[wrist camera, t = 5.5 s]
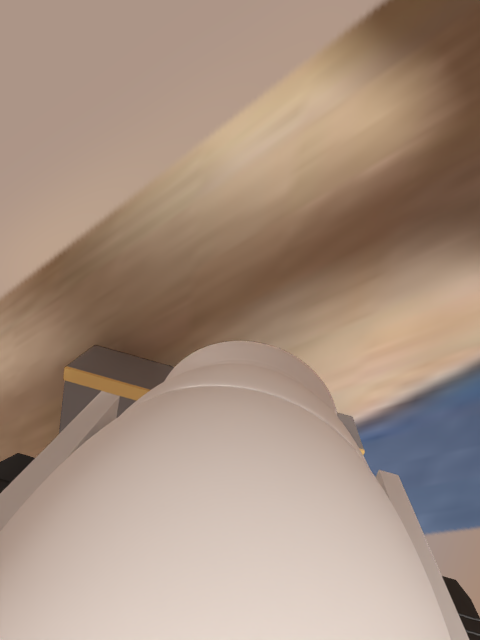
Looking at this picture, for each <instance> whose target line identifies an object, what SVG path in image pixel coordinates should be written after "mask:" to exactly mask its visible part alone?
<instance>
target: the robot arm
mask: <svg viewBox="0 0 480 640" xmlns="http://www.w3.org/2000/svg"><path fill="white" fill-rule="evenodd" d="M119 398H120V396H118V395H114V394H111V393H107V392H104V391H101V392H100V393H99V394H98V395H97V396H96V397H95V398H94V399H93V400H92V401H91V402H90V403H89V404H88V405H87V406H86V407H85V408H84V409H83V410H82V411H81V412H80V413H79V414H78V415H77V416H76V417H75V418H74V419H73V420H72V421H71V422H70V423H69V424H68V425H67V426H66V427H65V428H64V429H63V431H62V432H61V433H60V434H59V435H58V436H57V437H56V438H55V439H54V440H53V441H52V442H51V443H50V444H49V445H48V446H47V447H46V448H45V449H44V450H43V451H42V452H41V453H40V454H39V455H38V456H37V457H36V458H33V457H30V456H26V455H23V454H20V453H17V454H15V455H13V456H11V457H9V458H7V459H5V460H3V461H1V462H0V531H1V530H2V529H3V528H4V526H5V525H6V524H7V523H8V521H9V520H10V519H11V518H12V517H13V515H14V514H15V513H16V512H17V511H18V509H19V508H20V507H21V506H22V505H23V504H24V503H25V501H26V500H27V499H28V498H29V497H30V496H31V495H32V494H33V492H34V491H35V490H36V489H37V488H38V487H39V486H40V485H41V484H42V483H43V482H44V481H45V480H46V479H47V478H48V477H49V475H50V474H51V473H52V472H53V471H54V470H55V469H56V468H57V467H58V466H60V465H61V464H62V463H63V462H64V461H65V460H66V459H67V458H68V457H69V456H70V455H71V454H72V453H73V452H74V451H76V450H77V449H78V448H79V447H80V446H81V445H82V444H84V443H85V442H86V441H87V440H88V439H90V438H91V437H92V436H93V435H94V434H96V433H97V432H98V431H100V430H101V429H102V428H103V427H105V426H106V425H108V424H109V423H110V422H112V421H113V420H115V419H116V417H117V410H118V404H119ZM376 479H377V481H378V482H379V484H380V485H381V487H382V488H383V490H384V491H385V493H386V495H387V496H388V498H389V500H390V501H391V503H392V505H393V507H394V508H395V510H396V512H397V514H398V516H399V517H400V519H401V521H402V523H403V525H404V527H405V529H406V531H407V533H408V535H409V537H410V539H411V541H412V543H413V545H414V547H415V549H416V552H417V554H418V556H419V558H420V560H421V563H422V565H423V567H424V570H425V572H426V574H427V577H428V579H429V582H430V584H431V586H432V589H433V591H434V594H435V597H436V599H437V602H438V604H439V607H440V610H441V613H442V615H443V618H444V621H445V624H446V626H447V629H448V632H449V635H450V638H451V640H480V618H479V616H478V613H477V611H476V609H475V607H474V605H473V603H472V601H471V599H470V598H469V596H468V595H467V594H466V593H465V591H464V590H463V589H462V587H461V586H460V585H459V583H458V582H457V581H456V580H454V579H451V578H447V577H443V576H442V575H441V573H440V571H439V568H438V566H437V564H436V561H435V559H434V557H433V555H432V552H431V550H430V548H429V545H428V543H427V541H426V538H425V536H424V534H423V531H422V529H421V527H420V525H419V522H418V520H417V518H416V515H415V513H414V511H413V508H412V506H411V504H410V501H409V499H408V497H407V495H406V492H405V490H404V488H403V485H402V483H401V481H400V478H399V476H398V475H395V474H392V473H388V472H385V471H381V470H379V471H378V473H377V475H376Z"/></svg>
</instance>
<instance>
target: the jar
mask: <svg viewBox="0 0 480 640" xmlns="http://www.w3.org/2000/svg"><path fill="white" fill-rule="evenodd" d="M0 640H451V638H450V635H449V632H448V629H447V626H446V624H445V621H444V618H443V615H442V613H441V610H440V607H439V604H438V602H437V599H436V597H435V594H434V591H433V589H432V586H431V584H430V582H429V579H428V577H427V574H426V572H425V570H424V567H423V565H422V563H421V560H420V558H419V556H418V554H417V552H416V549H415V547H414V545H413V543H412V541H411V539H410V537H409V535H408V533H407V531H406V529H405V527H404V525H403V523H402V521H401V519H400V517H399V516H398V514H397V512H396V510H395V508H394V507H393V505H392V503H391V501H390V500H389V498H388V496H387V495H386V493H385V491H384V490H383V488H382V487H381V485H380V484H379V482H378V481H377V479H376V478H375V476H374V475H373V473H372V472H371V470H370V468H369V466H368V464H367V462H366V460H365V458H364V456H363V454H362V453H361V451H360V449H359V447H358V446H357V444H356V442H355V441H354V439H353V437H352V436H351V434H350V433H349V431H348V430H347V428H346V427H345V426H344V424H343V423H342V422H341V420H340V419H339V418H338V416H337V411H336V407H335V404H334V401H333V399H332V396H331V394H330V392H329V390H328V389H327V387H326V385H325V384H324V382H323V381H322V380H321V379H320V377H319V376H318V375H317V374H316V373H315V372H314V371H313V370H312V369H311V368H310V367H309V366H308V365H307V364H305V363H304V362H303V361H301V360H300V359H299V358H297V357H295V356H294V355H292V354H290V353H288V352H286V351H284V350H282V349H279V348H277V347H274V346H271V345H268V344H264V343H259V342H252V341H227V342H221V343H216V344H212V345H209V346H206V347H204V348H201V349H199V350H197V351H195V352H193V353H192V354H190V355H188V356H187V357H186V358H184V359H183V360H182V361H180V362H179V363H178V364H177V365H176V366H175V367H174V368H173V370H172V371H171V372H170V373H169V375H168V376H167V378H166V379H165V381H164V382H163V383H161V384H159V385H158V386H156V387H155V388H153V389H152V390H150V391H149V392H147V393H146V394H145V395H143V396H142V397H141V398H139V399H138V400H137V401H136V402H134V403H133V404H132V405H131V406H130V407H129V408H127V409H126V410H125V411H124V412H123V413H122V414H121V415H120V416H119V417H118V418H116V419H115V420H113V421H112V422H110V423H109V424H108V425H106V426H105V427H103V428H102V429H101V430H100V431H98V432H97V433H96V434H94V435H93V436H92V437H91V438H90V439H88V440H87V441H86V442H85V443H84V444H82V445H81V446H80V447H79V448H78V449H77V450H76V451H74V452H73V453H72V454H71V455H70V456H69V457H68V458H67V459H66V460H65V461H64V462H63V463H62V464H61V465H60V466H58V467H57V468H56V469H55V470H54V471H53V472H52V473H51V474H50V475H49V477H48V478H47V479H46V480H45V481H44V482H43V483H42V484H41V485H40V486H39V487H38V488H37V489H36V490H35V491H34V492H33V494H32V495H31V496H30V497H29V498H28V499H27V500H26V501H25V503H24V504H23V505H22V506H21V507H20V508H19V509H18V511H17V512H16V513H15V514H14V515H13V517H12V518H11V519H10V520H9V521H8V523H7V524H6V525H5V526H4V528H3V529H2V530H1V531H0Z"/></svg>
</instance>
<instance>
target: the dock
mask: <svg viewBox="0 0 480 640" xmlns="http://www.w3.org/2000/svg"><path fill="white" fill-rule="evenodd" d="M173 368H174V367H172V366H168V365H165V364H161V363H157V362H154V361H150V360H147V359H143V358H140V357H136V356H132V355H129V354H125V353H122V352H118V351H114V350H111V349H107V348H104V347H100V346H97V345H94V346H93V347H92V348H90V349H89V350H88V351H86V352H85V353H84V354H82V355H81V356H79V357H78V358H77V359H75V360H74V361H73V362H71V363H70V364H69V365H67V366H66V367H64V376H63V380H65V384H64V393H63V402H62V411H61V421H60V430H59V434H60V433H61V432H62V431H63V429H64V428H65V427H66V426H67V425H68V424H69V423H70V422H71V421H72V420H73V419H74V418H75V417H76V416H77V415H78V414H79V413H80V412H81V411H82V410H83V409H84V408H85V407H86V406H87V405H88V404H89V403H90V402H91V401H92V400H93V399H94V398H95V397H96V396H97V395H98V394H99V393H100V392H101V391H104V392H107V393H111V394H114V395H118V396H120V398H119V404H118V410H117V417H116V418H118V417H119V416H120V415H121V414H122V413H123V412H124V411H125V410H126V409H127V408H129V407H130V406H131V405H132V404H133V403H134V402H136V401H137V400H138V399H139V398H141V397H142V396H143V395H145V394H146V393H147V392H149V391H150V390H152V389H153V388H155V387H156V386H158V385H159V384H161V383H163V382H164V381H165V379H166V378H167V376H168V375H169V373H170V372H171V371H172V370H173ZM337 416H338V418H339V419H340V420H341V422H342V423H343V424H344V426H345V427H346V428H347V430H348V431H349V433H350V434H351V436H352V437H353V439H354V441H355V442H356V444H357V446H358V447H359V449H360V451H361V453H362V454H363V455H364V449H363V446H362V443H361V440H360V437H359V434H358V431H357V429H356V426H355V423H354V420H353V417H351V416H347V415H344V414H340V413H337Z"/></svg>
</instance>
